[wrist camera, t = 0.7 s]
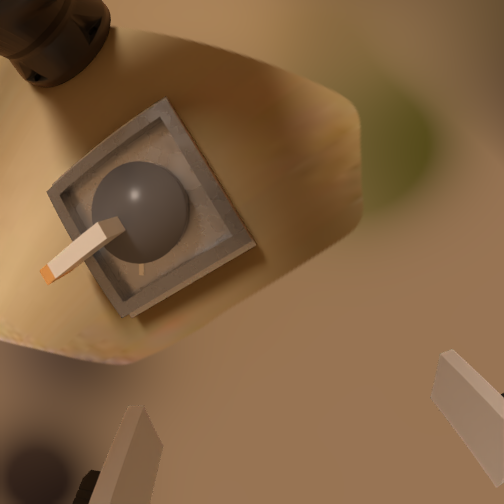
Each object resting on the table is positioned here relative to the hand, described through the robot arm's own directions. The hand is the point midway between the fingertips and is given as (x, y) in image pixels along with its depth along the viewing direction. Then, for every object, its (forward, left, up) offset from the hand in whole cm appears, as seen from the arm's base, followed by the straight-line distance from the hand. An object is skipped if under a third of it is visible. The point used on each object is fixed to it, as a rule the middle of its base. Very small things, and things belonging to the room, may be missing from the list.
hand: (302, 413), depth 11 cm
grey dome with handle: (-12, -12, -24) cm, 29 cm away
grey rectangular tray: (-12, -9, -25) cm, 29 cm away
